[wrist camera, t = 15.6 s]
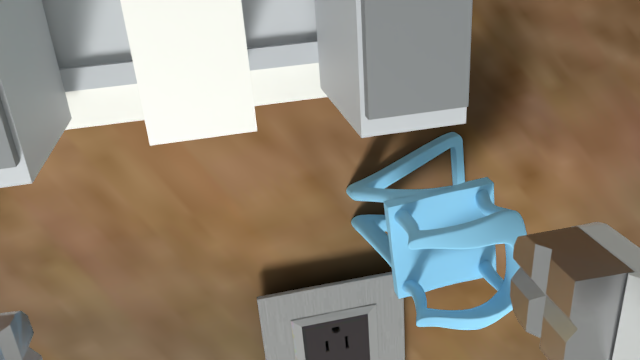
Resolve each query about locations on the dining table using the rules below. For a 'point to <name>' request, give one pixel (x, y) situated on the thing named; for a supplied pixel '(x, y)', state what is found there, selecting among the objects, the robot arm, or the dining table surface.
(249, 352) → the dining table surface
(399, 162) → the chair
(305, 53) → the white u-shaped cradle
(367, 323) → the electrical outlet
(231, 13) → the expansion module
